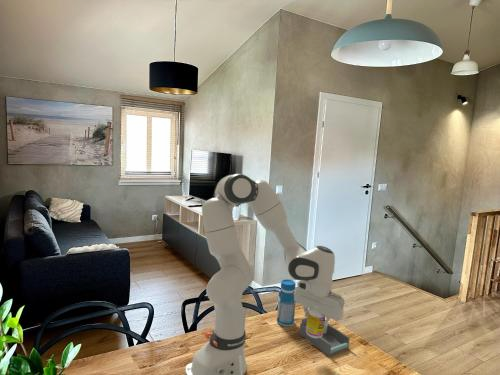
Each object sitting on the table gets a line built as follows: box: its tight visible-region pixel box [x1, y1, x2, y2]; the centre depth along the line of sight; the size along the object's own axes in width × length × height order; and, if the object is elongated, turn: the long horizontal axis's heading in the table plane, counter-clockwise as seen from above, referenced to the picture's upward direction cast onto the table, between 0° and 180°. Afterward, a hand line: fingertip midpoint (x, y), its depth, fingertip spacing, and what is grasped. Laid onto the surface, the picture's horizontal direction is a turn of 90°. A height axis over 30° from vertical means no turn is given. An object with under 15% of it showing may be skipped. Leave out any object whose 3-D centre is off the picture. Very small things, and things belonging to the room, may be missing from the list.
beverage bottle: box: [276, 279, 297, 327], centre depth 159 cm, size 8×8×20 cm
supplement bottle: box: [306, 304, 326, 338], centre depth 133 cm, size 7×7×13 cm
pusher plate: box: [323, 317, 328, 334], centre depth 149 cm, size 9×2×6 cm, turn 123°
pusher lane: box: [299, 317, 350, 357], centre depth 146 cm, size 12×18×7 cm, turn 33°
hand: (315, 321), depth 133 cm, fingers closed on supplement bottle, 6 cm apart
